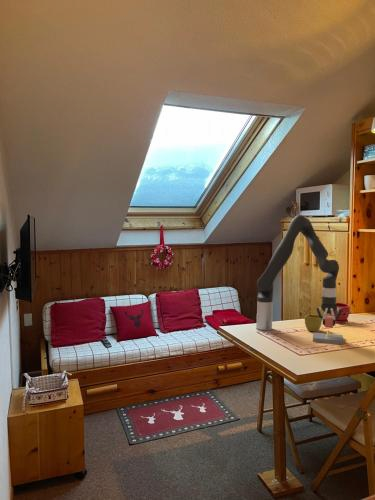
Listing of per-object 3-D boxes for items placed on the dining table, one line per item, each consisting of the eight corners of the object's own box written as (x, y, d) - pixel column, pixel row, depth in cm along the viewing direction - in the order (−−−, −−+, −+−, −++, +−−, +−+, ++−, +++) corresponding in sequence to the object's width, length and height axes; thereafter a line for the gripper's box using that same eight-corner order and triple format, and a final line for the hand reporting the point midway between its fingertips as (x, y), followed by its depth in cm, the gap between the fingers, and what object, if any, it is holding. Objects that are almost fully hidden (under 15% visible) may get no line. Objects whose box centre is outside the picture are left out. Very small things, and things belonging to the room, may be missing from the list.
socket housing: (325, 327, 221) (325, 318, 221) (324, 324, 229) (324, 315, 228) (332, 328, 220) (332, 319, 220) (332, 324, 228) (332, 315, 227)
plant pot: (324, 320, 270) (324, 303, 269) (340, 319, 274) (340, 302, 273) (336, 325, 258) (337, 306, 257) (353, 323, 262) (354, 305, 261)
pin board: (312, 341, 221) (313, 332, 221) (313, 335, 233) (313, 327, 232) (343, 344, 216) (344, 335, 216) (342, 338, 228) (342, 329, 228)
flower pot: (308, 327, 251) (308, 313, 251) (322, 329, 246) (322, 315, 246) (303, 330, 244) (304, 316, 243) (318, 333, 239) (318, 318, 238)
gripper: (315, 296, 222) (315, 326, 223) (343, 297, 218) (342, 328, 219) (315, 293, 229) (315, 323, 230) (342, 294, 225) (341, 325, 226)
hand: (328, 325), depth 224 cm, fingers closed on socket housing, 4 cm apart
